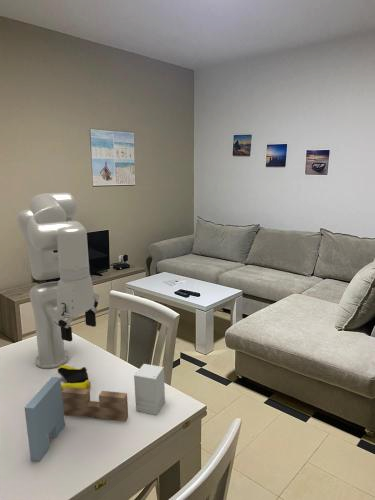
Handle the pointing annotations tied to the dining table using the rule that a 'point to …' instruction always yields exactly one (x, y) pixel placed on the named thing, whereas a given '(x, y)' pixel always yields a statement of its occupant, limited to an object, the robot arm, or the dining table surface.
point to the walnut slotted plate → (95, 404)
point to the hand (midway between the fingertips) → (79, 332)
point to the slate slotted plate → (44, 418)
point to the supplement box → (149, 389)
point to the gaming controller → (74, 377)
